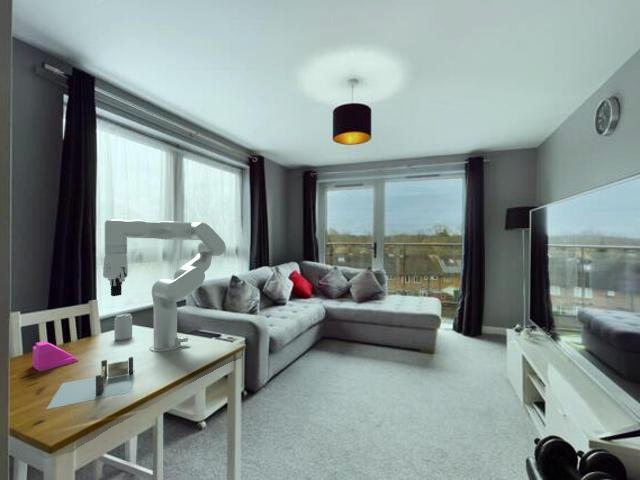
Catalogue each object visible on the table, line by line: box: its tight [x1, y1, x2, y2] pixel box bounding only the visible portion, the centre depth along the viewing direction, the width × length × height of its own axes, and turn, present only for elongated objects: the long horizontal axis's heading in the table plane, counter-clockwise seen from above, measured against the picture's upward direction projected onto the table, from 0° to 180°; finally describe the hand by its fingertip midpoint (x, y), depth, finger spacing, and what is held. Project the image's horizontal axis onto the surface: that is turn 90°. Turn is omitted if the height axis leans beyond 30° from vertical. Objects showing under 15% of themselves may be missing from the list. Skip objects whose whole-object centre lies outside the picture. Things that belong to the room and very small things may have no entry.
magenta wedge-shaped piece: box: [32, 340, 80, 372], centre depth 120 cm, size 12×10×10 cm
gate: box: [100, 366, 106, 392], centre depth 101 cm, size 10×1×5 cm, turn 33°
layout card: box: [46, 369, 135, 410], centre depth 100 cm, size 21×18×1 cm
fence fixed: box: [95, 356, 134, 396], centre depth 102 cm, size 10×14×6 cm
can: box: [114, 313, 133, 341], centre depth 151 cm, size 8×8×12 cm
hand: (116, 295), depth 122 cm, fingers closed
